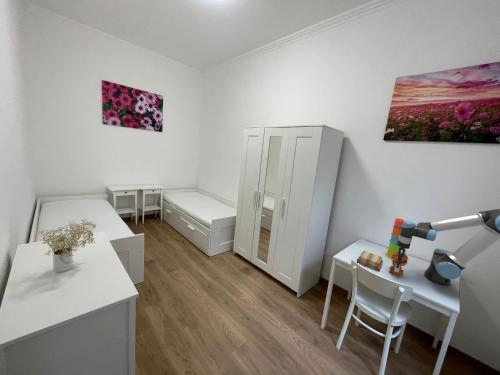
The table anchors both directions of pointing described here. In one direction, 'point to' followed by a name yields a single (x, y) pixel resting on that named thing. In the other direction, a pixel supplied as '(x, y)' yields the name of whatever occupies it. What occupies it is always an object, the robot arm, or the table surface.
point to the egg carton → (370, 260)
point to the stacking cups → (394, 238)
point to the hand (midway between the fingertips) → (397, 267)
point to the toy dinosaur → (403, 262)
